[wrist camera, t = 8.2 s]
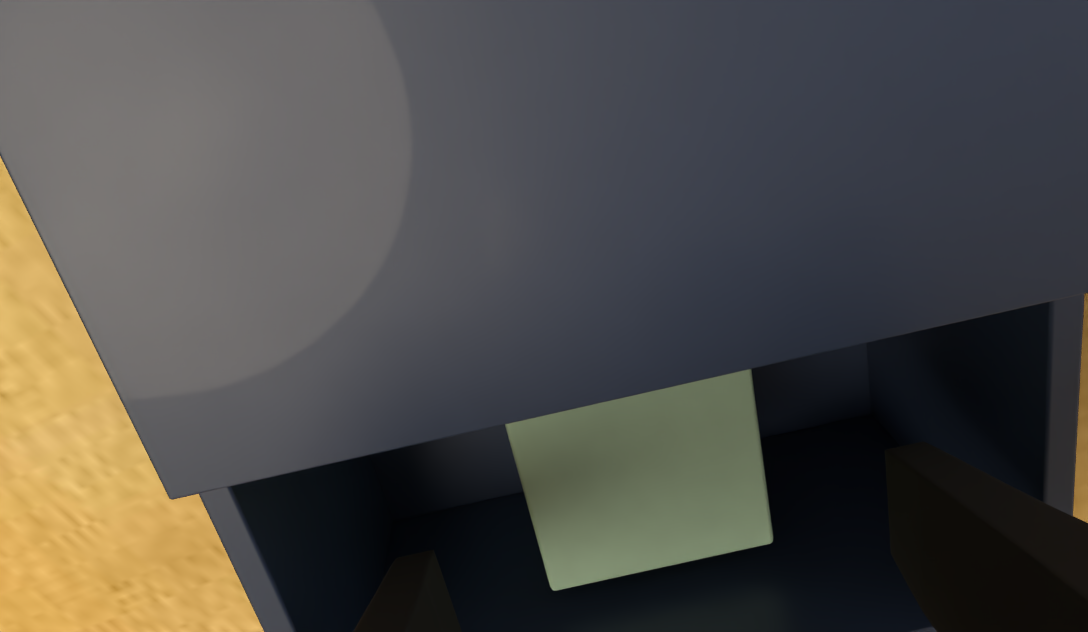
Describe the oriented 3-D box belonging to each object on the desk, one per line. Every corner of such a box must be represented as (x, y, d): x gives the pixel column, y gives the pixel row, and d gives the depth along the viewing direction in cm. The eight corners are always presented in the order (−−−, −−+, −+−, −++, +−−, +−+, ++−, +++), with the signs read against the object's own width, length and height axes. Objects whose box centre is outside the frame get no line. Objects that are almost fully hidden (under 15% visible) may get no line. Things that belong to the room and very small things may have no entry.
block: (688, 259, 18) (748, 341, 13) (715, 427, 19) (775, 544, 15) (495, 303, 18) (497, 398, 14) (538, 466, 19) (551, 593, 15)
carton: (846, -168, 15) (1173, -310, 8) (882, 416, 20) (1100, 655, 13) (184, -6, 15) (-84, -1, 8) (382, 527, 20) (324, 820, 13)
